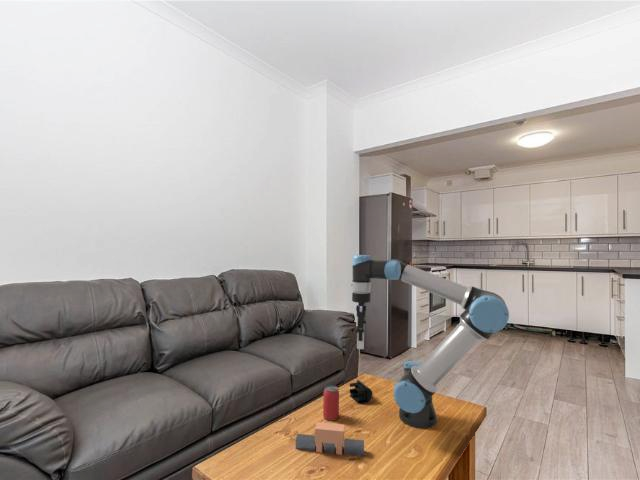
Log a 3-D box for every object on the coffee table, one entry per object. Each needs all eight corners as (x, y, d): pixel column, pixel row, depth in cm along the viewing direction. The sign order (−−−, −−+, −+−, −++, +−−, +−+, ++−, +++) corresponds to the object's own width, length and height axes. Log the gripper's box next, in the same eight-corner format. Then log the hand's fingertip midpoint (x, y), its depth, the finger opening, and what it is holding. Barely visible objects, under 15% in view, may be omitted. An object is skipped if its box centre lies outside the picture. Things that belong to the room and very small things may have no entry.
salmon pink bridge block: (344, 447, 117) (344, 424, 117) (343, 454, 113) (343, 431, 113) (316, 444, 119) (316, 422, 119) (314, 451, 114) (315, 428, 114)
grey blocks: (364, 450, 116) (364, 440, 116) (363, 455, 113) (364, 445, 113) (297, 443, 119) (297, 433, 119) (295, 448, 116) (295, 438, 116)
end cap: (372, 402, 152) (372, 387, 152) (359, 404, 149) (359, 389, 149) (362, 393, 161) (362, 379, 161) (349, 395, 158) (349, 381, 158)
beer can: (337, 422, 134) (338, 392, 134) (321, 420, 135) (322, 390, 135) (339, 414, 140) (340, 385, 141) (324, 412, 142) (325, 384, 142)
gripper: (353, 288, 149) (352, 335, 148) (350, 296, 124) (350, 352, 124) (370, 288, 148) (369, 335, 147) (370, 297, 123) (370, 353, 123)
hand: (360, 343), depth 136 cm, fingers open, 13 cm apart
